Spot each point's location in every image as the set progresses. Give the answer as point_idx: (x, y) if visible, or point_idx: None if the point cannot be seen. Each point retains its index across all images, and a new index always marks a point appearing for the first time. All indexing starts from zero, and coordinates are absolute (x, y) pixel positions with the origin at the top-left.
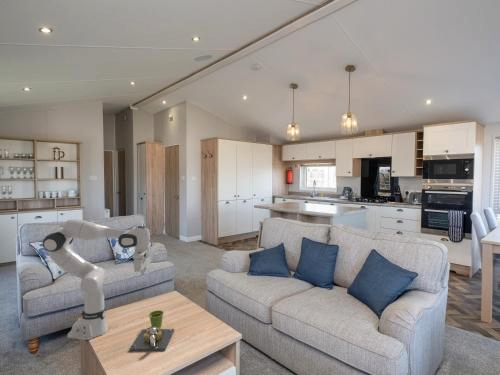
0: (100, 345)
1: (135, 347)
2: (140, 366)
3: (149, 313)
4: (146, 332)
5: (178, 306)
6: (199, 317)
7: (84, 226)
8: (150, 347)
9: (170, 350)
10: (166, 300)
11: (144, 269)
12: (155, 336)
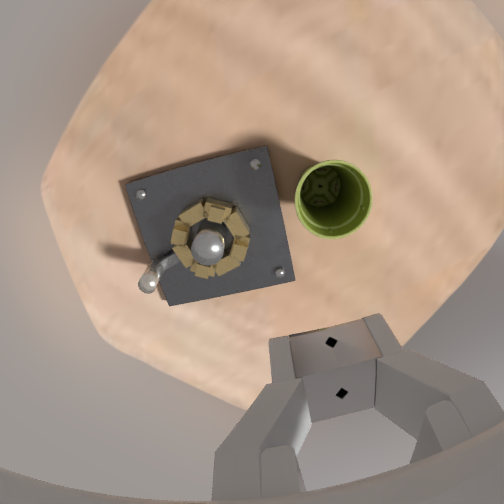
0: (134, 45)
1: (136, 203)
2: (82, 268)
3: (332, 161)
4: (210, 207)
5: (479, 200)
6: (398, 315)
7: None
8: (153, 258)
9: (176, 315)
10: None
11: (402, 408)
12: (191, 262)
